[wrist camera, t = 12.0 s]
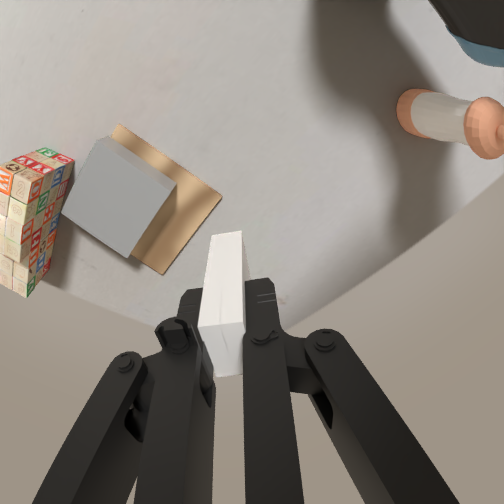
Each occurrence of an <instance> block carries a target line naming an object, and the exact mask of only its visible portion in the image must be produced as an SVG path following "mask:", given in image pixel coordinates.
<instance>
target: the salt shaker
mask: <svg viewBox="0 0 504 504" xmlns="http://www.w3.org/2000/svg"><path fill="white" fill-rule="evenodd" d="M396 112H397V118H398V120H399V123H400V125H401V126H402V127H403V128H404V130H405V131H407V132H409V133H410V134H413V135H416V136H419V137H423V138H427V139H429V138H433V139H436V140H440V141H448V142H459V143H462V144H465V145H468V146H470V147H471V149H472V151H473V152H474V153H476V154H477V155H478V156H479V157H480V158H484V159H496V158H498V157H500V156H501V155H502V154H504V107H503V106H502V105H501V104H500V103H499V102H498V101H496V100H494V99H492V98H490V97H481V98H478V99H476V100H475V101H467V100H461V99H458V98H455V97H452V96H450V95H447V94H444V93H436V92H433V91H431V90H427V89H409V90H407V91H405V92H404V93H403V94H402V95H401V96H400V97H399V100H398V102H397V108H396Z"/></svg>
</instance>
